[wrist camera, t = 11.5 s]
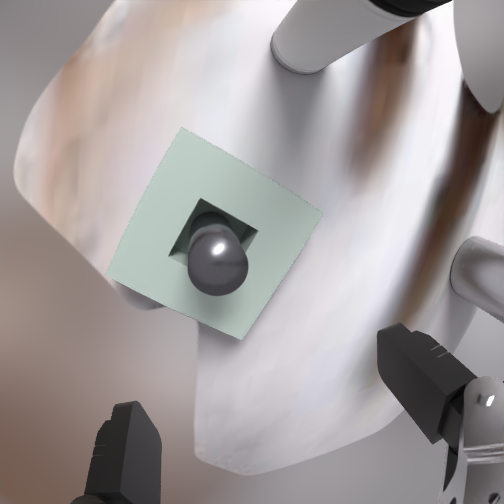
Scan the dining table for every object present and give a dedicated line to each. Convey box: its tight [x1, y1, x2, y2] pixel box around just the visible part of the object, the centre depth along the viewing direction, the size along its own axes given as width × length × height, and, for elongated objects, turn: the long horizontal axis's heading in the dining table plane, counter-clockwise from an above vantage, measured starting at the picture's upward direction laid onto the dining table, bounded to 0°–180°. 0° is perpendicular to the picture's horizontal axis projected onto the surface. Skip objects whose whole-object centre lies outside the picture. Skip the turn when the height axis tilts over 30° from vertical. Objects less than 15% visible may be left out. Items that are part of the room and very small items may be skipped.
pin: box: [187, 211, 249, 296], centre depth 25 cm, size 4×4×10 cm
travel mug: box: [271, 0, 452, 74], centre depth 18 cm, size 6×7×20 cm
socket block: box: [105, 127, 324, 340], centre depth 29 cm, size 14×14×5 cm
